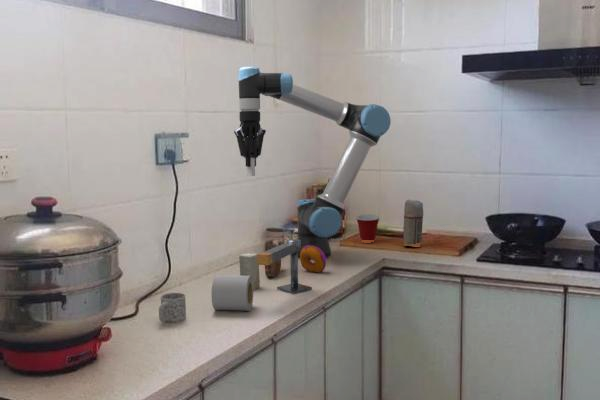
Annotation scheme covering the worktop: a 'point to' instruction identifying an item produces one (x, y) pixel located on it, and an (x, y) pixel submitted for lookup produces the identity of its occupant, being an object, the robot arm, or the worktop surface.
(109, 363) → the worktop surface
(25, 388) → the worktop surface
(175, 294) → the mug
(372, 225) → the plastic cup
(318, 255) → the donut
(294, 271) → the post
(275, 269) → the tin
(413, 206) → the grey thermos bottle
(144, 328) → the worktop surface
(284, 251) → the bar
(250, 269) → the box
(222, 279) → the toilet paper
